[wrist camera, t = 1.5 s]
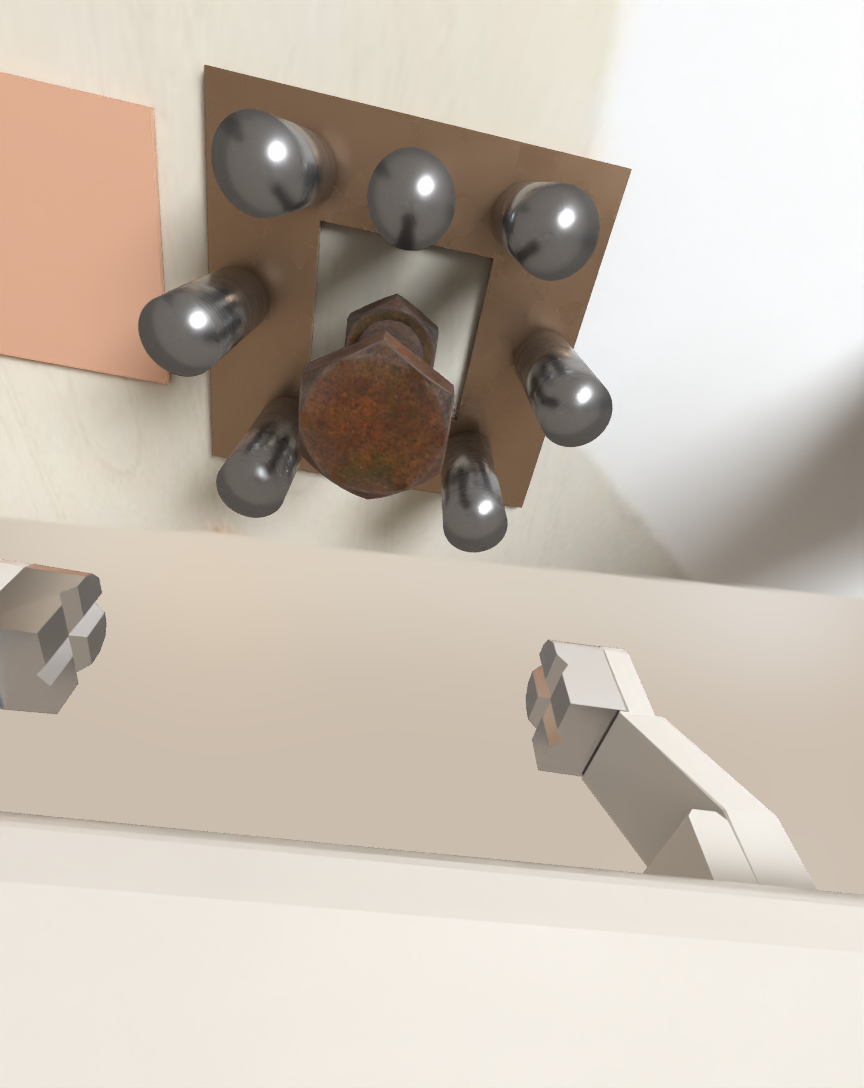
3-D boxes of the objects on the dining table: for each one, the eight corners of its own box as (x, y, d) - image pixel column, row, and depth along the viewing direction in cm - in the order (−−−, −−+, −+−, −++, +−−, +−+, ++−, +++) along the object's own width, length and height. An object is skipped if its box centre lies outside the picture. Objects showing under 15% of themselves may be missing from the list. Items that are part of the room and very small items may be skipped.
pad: (153, 108, 26) (150, 107, 26) (170, 382, 33) (167, 384, 33) (-155, 35, 25) (-163, 34, 24) (-70, 338, 32) (-75, 340, 31)
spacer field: (630, 169, 27) (707, 167, 20) (522, 504, 38) (545, 586, 30) (205, 65, 25) (111, 19, 18) (213, 451, 35) (155, 526, 28)
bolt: (432, 386, 33) (434, 514, 21) (346, 373, 33) (296, 496, 20) (448, 279, 30) (463, 354, 18) (354, 263, 30) (300, 329, 17)
